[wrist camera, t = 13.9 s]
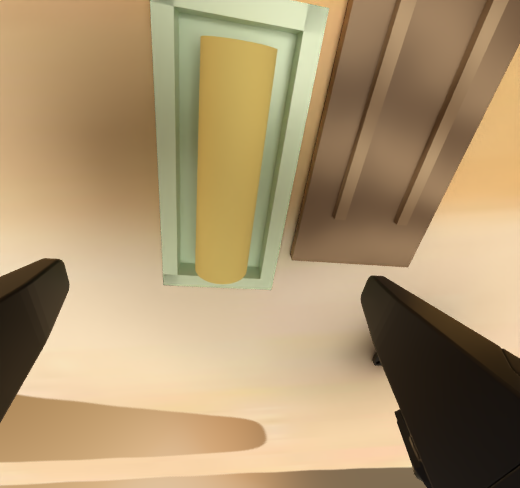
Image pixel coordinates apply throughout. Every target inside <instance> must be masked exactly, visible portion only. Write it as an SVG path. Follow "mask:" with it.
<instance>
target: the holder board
mask: <svg viewBox="0 0 520 488" xmlns="http://www.w3.org/2000/svg"><path fill="white" fill-rule="evenodd" d="M519 44H520V0H349V1H348V5H347V9H346V14H345V18H344V23H343V27H342V31H341V36H340V40H339V44H338V49H337V53H336V57H335V62H334V66H333V70H332V75H331V79H330V83H329V88H328V92H327V96H326V101H325V105H324V109H323V114H322V118H321V123H320V127H319V131H318V136H317V140H316V144H315V149H314V153H313V157H312V162H311V166H310V170H309V175H308V179H307V183H306V188H305V192H304V196H303V201H302V205H301V210H300V214H299V218H298V223H297V227H296V231H295V236H294V240H293V244H292V249H291V253H290V255H291V258H292V260H298V261H315V262H331V263H347V264H364V265H380V266H396V267H408V266H409V264H410V262H411V260H412V258H413V256H414V254H415V252H416V250H417V248H418V246H419V244H420V242H421V240H422V238H423V236H424V234H425V232H426V230H427V228H428V226H429V224H430V222H431V220H432V218H433V216H434V214H435V212H436V210H437V208H438V206H439V204H440V202H441V200H442V198H443V196H444V194H445V192H446V190H447V188H448V186H449V184H450V182H451V180H452V178H453V176H454V174H455V172H456V170H457V168H458V166H459V164H460V162H461V160H462V158H463V156H464V154H465V152H466V150H467V148H468V146H469V144H470V142H471V140H472V138H473V136H474V134H475V132H476V130H477V128H478V126H479V124H480V122H481V120H482V118H483V116H484V114H485V112H486V110H487V108H488V106H489V104H490V102H491V100H492V98H493V96H494V94H495V92H496V90H497V88H498V86H499V84H500V82H501V80H502V78H503V76H504V74H505V72H506V70H507V68H508V66H509V64H510V62H511V60H512V58H513V56H514V54H515V52H516V50H517V48H518V46H519Z"/></svg>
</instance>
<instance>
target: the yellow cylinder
mask: <svg viewBox="0 0 520 488" xmlns="http://www.w3.org/2000/svg"><path fill="white" fill-rule="evenodd" d="M277 51H278V50H277V49H276V48H273V47H270V46H267V45H263V44H258V43H254V42H249V41H244V40H238V39H232V38H225V37H217V36H201V37H200V79H199V121H198V164H197V206H196V248H195V271H196V273H197V275H198V276H199V277H200V278H202V279H203V280H205V281H207V282H210V283H214V284H231V283H235V282H237V281H239V280H241V279H242V278H243V277H244V276H245V275H246V272H247V266H248V258H249V251H250V244H251V237H252V230H253V223H254V215H255V208H256V201H257V194H258V187H259V180H260V173H261V165H262V158H263V151H264V144H265V137H266V130H267V122H268V115H269V108H270V101H271V94H272V87H273V79H274V72H275V65H276V58H277Z"/></svg>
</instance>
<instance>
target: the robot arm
mask: <svg viewBox="0 0 520 488" xmlns="http://www.w3.org/2000/svg"><path fill="white" fill-rule="evenodd" d="M68 291H69V280H68V276H67V272H66V269H65V265H64V262H63V261H62V260H60V259H50V258H44V259H41V260H39V261H36V262H34V263H32V264H29V265H27V266H24V267H22V268H20V269H17V270H15V271H13V272H10V273H8V274H6V275H3V276H1V277H0V422H1V421H2V419H3V417H4V415H5V414H6V412H7V410H8V408H9V407H10V405H11V403H12V401H13V400H14V398H15V396H16V394H17V393H18V391H19V389H20V387H21V386H22V384H23V382H24V380H25V379H26V377H27V375H28V373H29V372H30V370H31V368H32V366H33V365H34V363H35V361H36V359H37V358H38V356H39V354H40V352H41V351H42V349H43V347H44V345H45V343H46V341H47V339H48V337H49V335H50V333H51V331H52V328H53V326H54V324H55V321H56V319H57V317H58V314H59V312H60V310H61V307H62V305H63V303H64V300H65V298H66V296H67V293H68ZM361 304H362V307H363V311H364V314H365V317H366V321H367V324H368V328H369V331H370V334H371V338H372V341H373V344H374V347H375V349H376V354H375V356H374V357H373V359H372V361H373V363H374V365H382V366H383V369H384V371H385V374H386V376H387V378H388V381H389V383H390V386H391V388H392V391H393V393H394V395H395V398H396V400H397V403H398V405H399V408H400V409H399V410H397V411H395V415H396V418H397V424H398V427H399V429H400V432H401V435H402V438H403V441H404V443H405V446H406V449H407V452H408V455H409V457H410V460H411V463H412V467H413V471H414V474H415V475H416V477H417V478H418V479H419V480H421V481H423V482H424V484H425V485H426V487H427V488H520V358H518V357H516V356H515V355H513V354H511V353H510V352H508V351H506V350H505V349H501V348H500V346H498V345H496V344H495V343H493V342H491V341H490V340H488V339H486V338H485V337H483V336H482V335H480V334H478V333H477V332H475V331H473V330H472V329H470V328H468V327H467V326H465V325H463V324H462V323H460V322H458V321H457V320H455V319H453V318H452V317H450V316H448V315H447V314H445V313H443V312H442V311H440V310H438V309H437V308H435V307H433V306H432V305H430V304H429V303H427V302H425V301H424V300H422V299H420V298H419V297H417V296H415V295H414V294H412V293H410V292H409V291H407V290H405V289H404V288H402V287H400V286H399V285H397V284H395V283H394V282H392V281H390V280H389V279H387V278H385V277H383V276H370V277H369V278H368V280H367V282H366V285H365V287H364V290H363V292H362V294H361Z"/></svg>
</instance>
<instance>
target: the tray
mask: <svg viewBox="0 0 520 488" xmlns="http://www.w3.org/2000/svg"><path fill="white" fill-rule="evenodd" d="M328 11H329V8H326V7H321V6H317V5H312V4H307V3H302V2H297V1H292V0H150V13H151V34H152V55H153V76H154V97H155V118H156V139H157V160H158V181H159V203H160V224H161V245H162V266H163V285H170V286H193V287H216V288H238V289H261V290H271V289H272V284H273V280H274V275H275V270H276V265H277V260H278V255H279V250H280V245H281V241H282V236H283V231H284V226H285V221H286V216H287V211H288V206H289V202H290V197H291V192H292V187H293V182H294V177H295V172H296V167H297V163H298V158H299V153H300V148H301V143H302V138H303V133H304V128H305V123H306V119H307V114H308V109H309V104H310V99H311V94H312V89H313V84H314V80H315V75H316V70H317V65H318V60H319V55H320V50H321V45H322V41H323V36H324V31H325V26H326V21H327V16H328ZM201 36H217V37H225V38H232V39H238V40H244V41H249V42H254V43H258V44H263V45H267V46H270V47H273V48H276V49H277V50H278V51H277V58H276V65H275V72H274V79H273V87H272V94H271V101H270V108H269V115H268V122H267V130H266V137H265V144H264V151H263V158H262V165H261V173H260V180H259V187H258V194H257V201H256V208H255V215H254V223H253V230H252V237H251V244H250V251H249V258H248V266H247V272H246V275H245V276H244V277H243V278H242V279H241V280H239V281H237V282H235V283H231V284H214V283H210V282H207V281H205V280H203V279H202V278H200V277H199V276H198V275H197V273H196V271H195V248H196V206H197V164H198V121H199V79H200V37H201Z"/></svg>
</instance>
